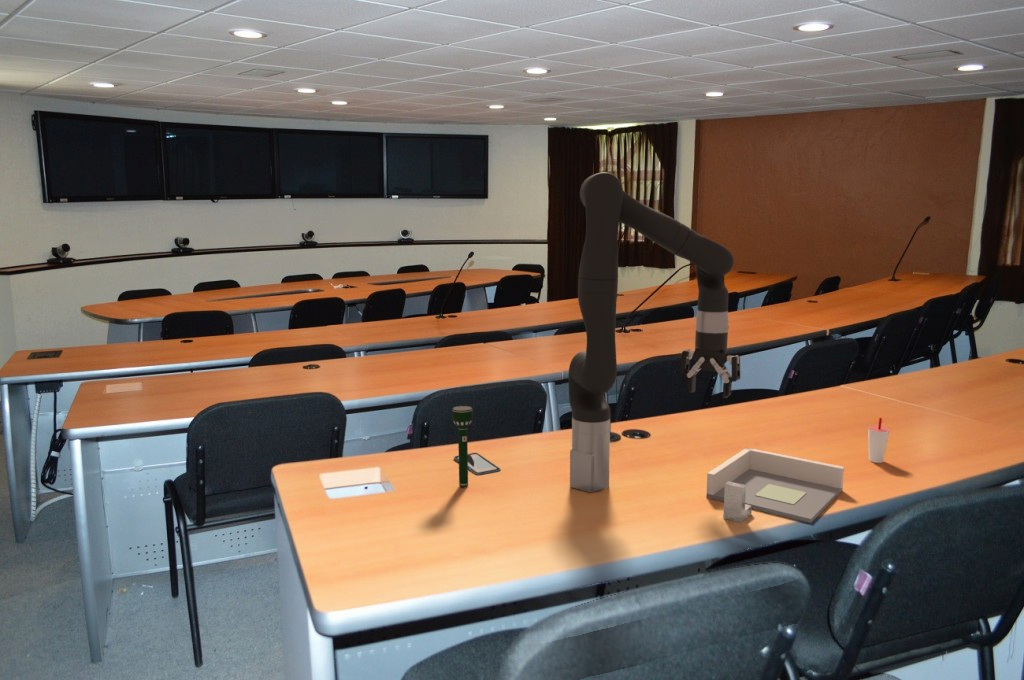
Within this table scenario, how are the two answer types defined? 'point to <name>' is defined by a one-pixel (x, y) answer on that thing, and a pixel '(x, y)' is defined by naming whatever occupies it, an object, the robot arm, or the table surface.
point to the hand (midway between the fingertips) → (708, 394)
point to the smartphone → (479, 464)
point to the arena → (779, 483)
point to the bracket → (735, 502)
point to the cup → (877, 442)
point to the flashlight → (462, 439)
